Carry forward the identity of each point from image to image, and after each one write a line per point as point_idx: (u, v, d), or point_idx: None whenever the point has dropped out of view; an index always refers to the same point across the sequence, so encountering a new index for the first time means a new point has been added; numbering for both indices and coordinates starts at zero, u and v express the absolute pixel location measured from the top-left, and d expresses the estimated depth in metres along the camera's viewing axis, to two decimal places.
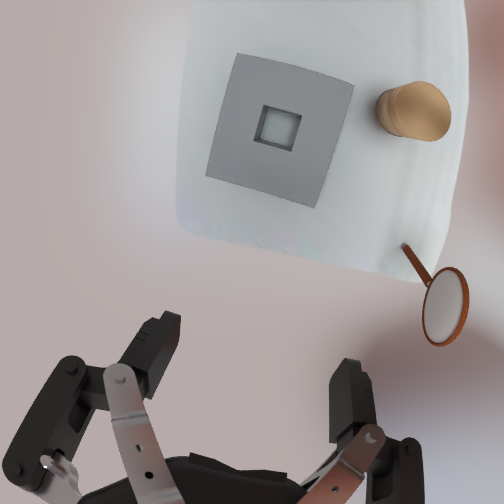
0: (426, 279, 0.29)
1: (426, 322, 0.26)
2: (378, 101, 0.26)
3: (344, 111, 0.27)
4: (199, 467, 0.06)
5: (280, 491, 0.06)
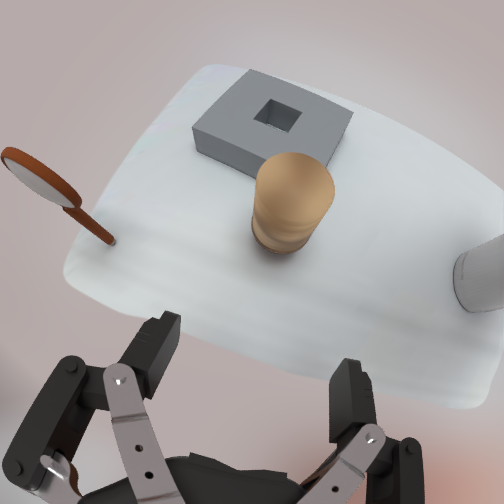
0: None
1: None
2: None
3: None
4: (199, 467, 0.06)
5: (280, 491, 0.06)
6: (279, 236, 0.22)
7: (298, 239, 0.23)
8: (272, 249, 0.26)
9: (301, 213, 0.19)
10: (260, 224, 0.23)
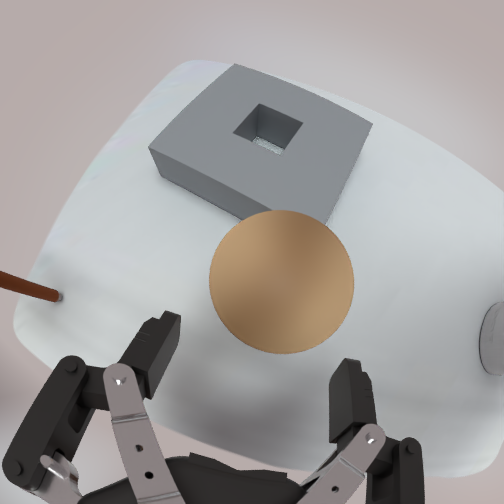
0: None
1: None
2: None
3: (277, 209, 0.20)
4: (199, 467, 0.06)
5: (280, 491, 0.06)
6: None
7: None
8: None
9: (289, 338, 0.10)
10: None
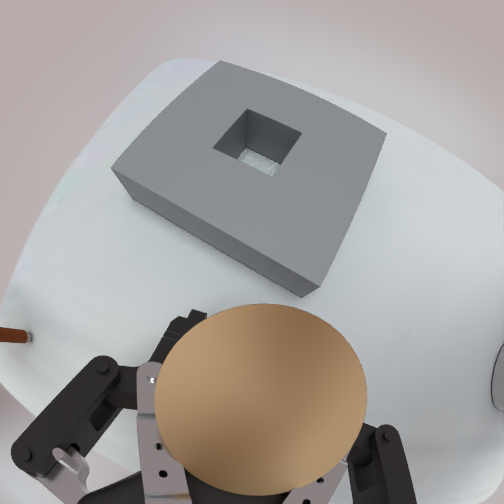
0: None
1: None
2: None
3: (267, 251, 0.16)
4: None
5: None
6: None
7: None
8: None
9: (269, 481, 0.06)
10: None
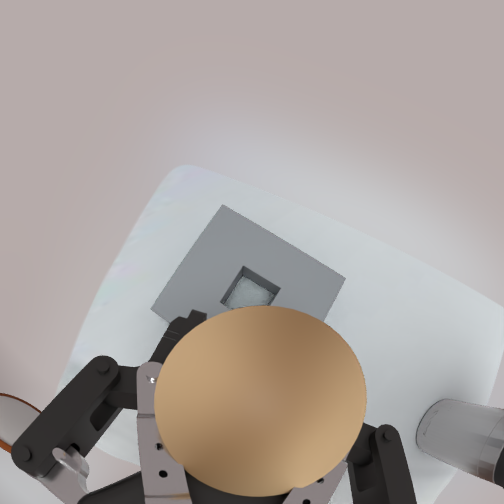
0: None
1: (5, 398, 0.15)
2: None
3: None
4: None
5: None
6: None
7: None
8: None
9: (269, 482, 0.06)
10: None
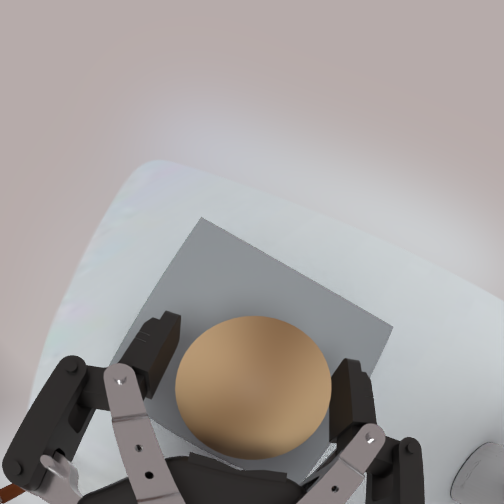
0: (3, 496, 0.07)
1: None
2: None
3: None
4: (199, 467, 0.06)
5: (280, 491, 0.06)
6: None
7: None
8: None
9: (258, 447, 0.09)
10: None
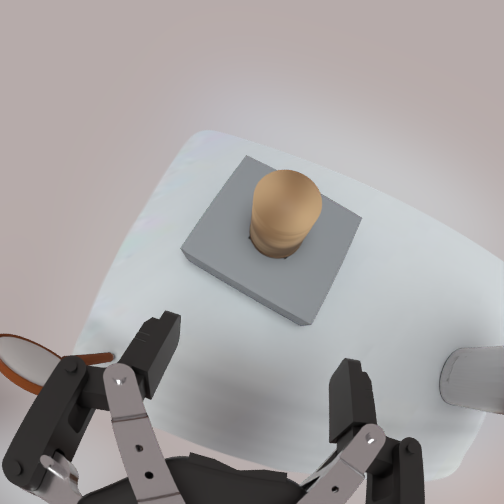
0: None
1: (21, 340, 0.17)
2: None
3: (282, 305, 0.28)
4: (199, 467, 0.06)
5: (280, 491, 0.06)
6: (273, 243, 0.25)
7: (290, 246, 0.26)
8: (267, 254, 0.29)
9: (292, 225, 0.22)
10: (257, 233, 0.26)
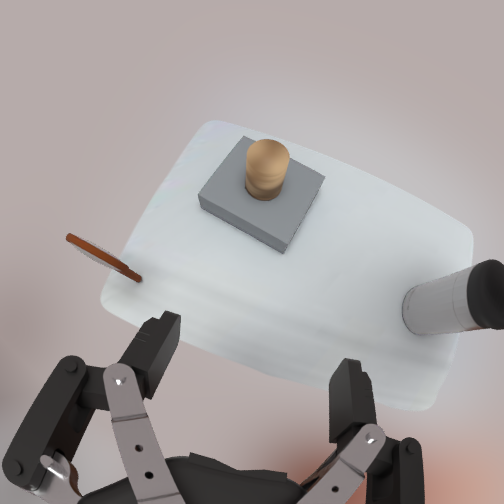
0: None
1: None
2: None
3: (267, 231, 0.42)
4: (199, 467, 0.06)
5: (280, 491, 0.06)
6: (259, 185, 0.39)
7: (271, 188, 0.39)
8: (257, 197, 0.42)
9: (270, 169, 0.35)
10: (249, 179, 0.39)
